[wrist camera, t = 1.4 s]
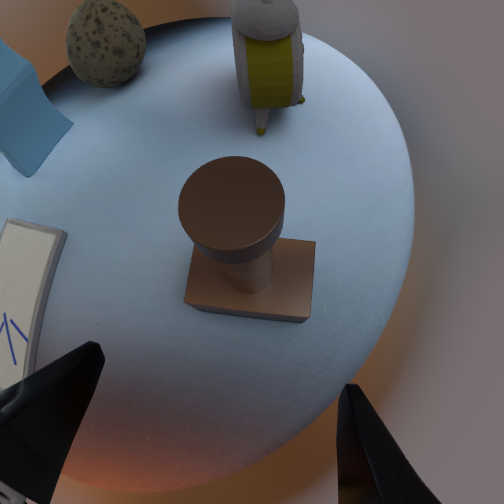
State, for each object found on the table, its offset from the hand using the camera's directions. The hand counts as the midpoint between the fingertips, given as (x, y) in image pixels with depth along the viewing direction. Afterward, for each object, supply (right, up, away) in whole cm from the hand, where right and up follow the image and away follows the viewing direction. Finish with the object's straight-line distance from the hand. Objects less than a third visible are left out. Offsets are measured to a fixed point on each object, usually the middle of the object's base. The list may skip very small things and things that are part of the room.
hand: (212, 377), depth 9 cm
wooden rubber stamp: (+2, +2, +14) cm, 14 cm away
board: (-26, -2, +14) cm, 29 cm away
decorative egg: (-18, +29, +24) cm, 42 cm away
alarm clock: (+4, +20, +20) cm, 29 cm away
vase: (-30, +20, +22) cm, 42 cm away
